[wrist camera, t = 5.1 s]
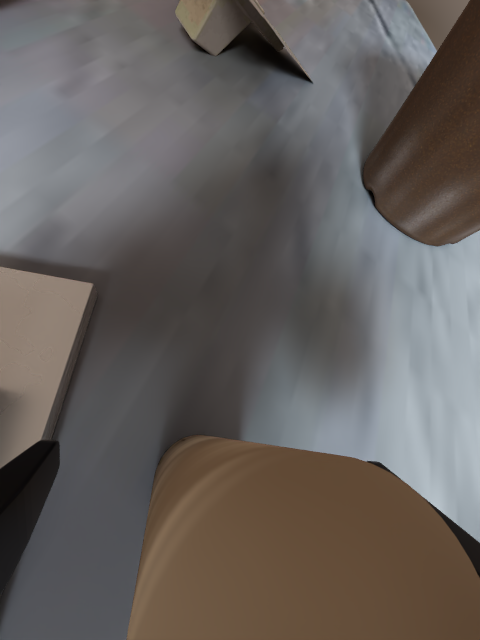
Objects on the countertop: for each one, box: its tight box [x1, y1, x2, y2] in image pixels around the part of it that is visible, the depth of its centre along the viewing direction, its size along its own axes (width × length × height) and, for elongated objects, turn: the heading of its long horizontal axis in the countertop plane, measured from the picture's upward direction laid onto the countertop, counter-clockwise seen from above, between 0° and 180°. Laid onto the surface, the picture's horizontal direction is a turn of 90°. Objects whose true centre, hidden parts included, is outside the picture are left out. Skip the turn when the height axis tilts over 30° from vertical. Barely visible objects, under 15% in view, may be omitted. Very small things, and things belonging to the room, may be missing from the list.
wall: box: [175, 0, 311, 80], centre depth 25 cm, size 16×9×15 cm
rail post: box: [127, 435, 480, 640], centre depth 8 cm, size 4×4×12 cm
